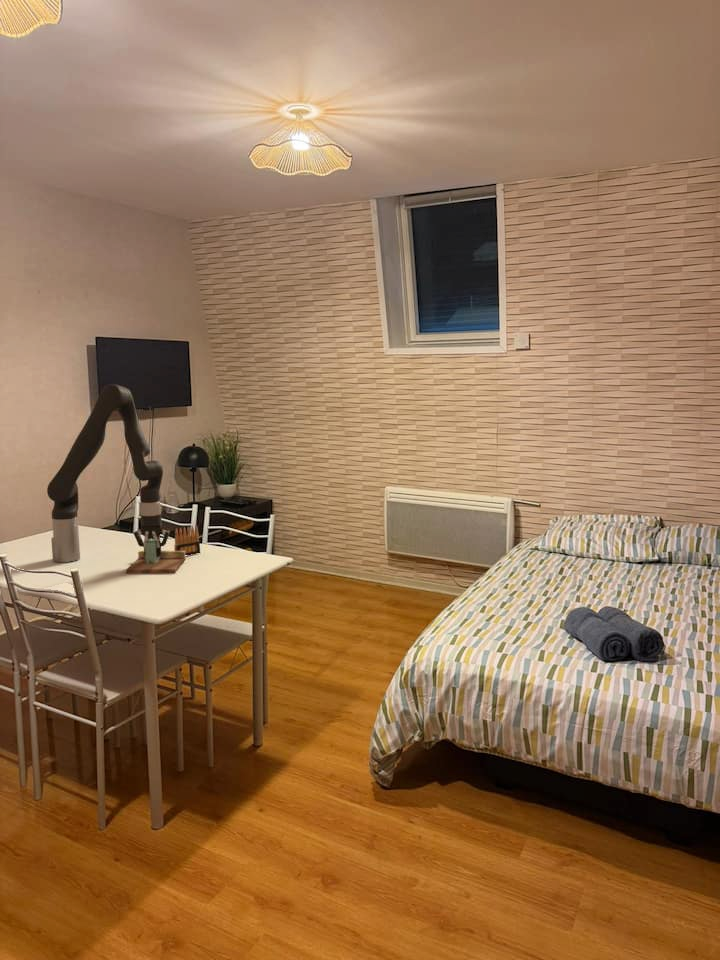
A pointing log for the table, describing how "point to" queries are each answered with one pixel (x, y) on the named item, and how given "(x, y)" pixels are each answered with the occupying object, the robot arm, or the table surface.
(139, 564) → the walnut board
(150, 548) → the green rectangular block
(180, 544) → the ammunition clip
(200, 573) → the table surface
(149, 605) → the table surface
